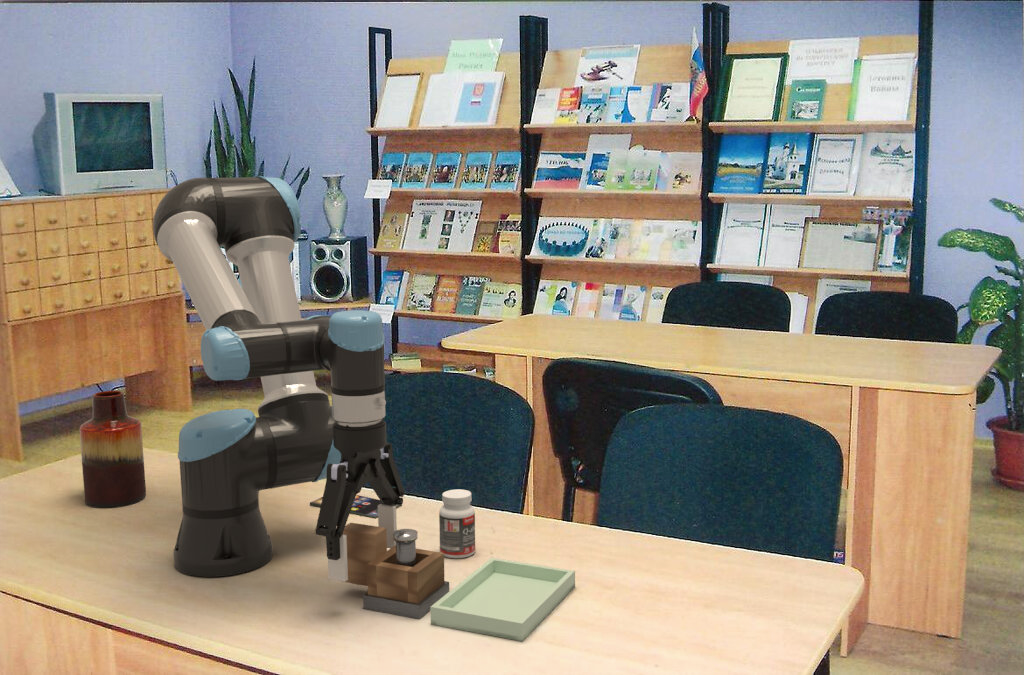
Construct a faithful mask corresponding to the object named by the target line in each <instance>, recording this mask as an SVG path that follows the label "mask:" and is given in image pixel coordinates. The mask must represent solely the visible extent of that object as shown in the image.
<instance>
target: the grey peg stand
mask: <svg viewBox="0 0 1024 675" xmlns="http://www.w3.org/2000/svg"><path fill="white" fill-rule="evenodd" d="M393 539H394V541H396V564H397V565H403V566H409V567H414V566H415V565H416V549H417V548H416V545H417V544H416V540H417V539H418V531H417V529H412V528H400V529H397V531H395V532H394V533H393ZM449 591H450V581H445V583H443V584H442V585H441V586H439V587H438V588H437V589H436V590H434V591H433V592H432V593H431V594H429V595H428V596H427V597H425V598H424V599H423V600H422V601H420V602H419V603H412V602H407V601H401V600H396V599H390V598H385V597H379V596H374V595H368V591H367V592H365V593H364V594H363V595H362V603H363V604H362V606H363V609H364V610H368V611H374V612H379V613H386V614H390V615H394V616H395V615H396V616H401V617H405V618H412V619H417V620H421V619H422V618H423V617H424V616H425V615H427V614H428V613H430V612H431V609H430V607H431V606H432V605H433V604H435V603H436V602H437V601H438V600H440V599H441V598H442V597H443V596H444V595H446V594H447V593H448V592H449Z"/></svg>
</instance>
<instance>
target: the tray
mask: <svg viewBox="0 0 1024 675" xmlns="http://www.w3.org/2000/svg"><path fill="white" fill-rule="evenodd" d="M575 588H576V570H572V569H566V568H559V567H553V566H547V565H540V564H535V563H534V564H533V563H528V562H522V561H521V562H520V561H515V560H508V559H500V558H497V557H496V558H495V557H490V558H489V559H488V560H487V561H486V562H484V563H483V564H482V565H481V566H479V567H478V568H477V569H476V570H474V571H473V572H472V573H470V575H469V574H468V576H467V577H466V578H465V579H462V581H461V582H459V583H458V584H457V585H455V586H454V587H453V588H451V590H449V592H448V593H447V594H446V595H444V596H443V597H442V598H441V599H440V600H438V601H437V602H436V603H435V604H433V605H432V606H431V607H430V609H431V610H430V625H433V626H438V627H445V628H449V629H455V630H460V631H465V632H469V633H470V632H471V633H477V634H481V635H486V636H492V637H497V638H502V639H508V640H514V641H517V642H518V641H519V642H523V641H524V640H526V638H528V637H529V636H530V634H532V633H533V631H534V630H535V629H536V628H538V626H539V625H540V624H541V623H542V622H543V621H544V620H545V619H546V618H547V617H548V616H549V615H550V613H551V612H553V610H555V609H556V607H557V606H558V605H559V604H560V603H561V602H562V601H563V600H564V599H565V598H566V597H567V596H568V595H569V594H570V593H571V592H572V591H573V590H574V589H575Z"/></svg>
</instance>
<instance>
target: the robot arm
mask: <svg viewBox="0 0 1024 675" xmlns="http://www.w3.org/2000/svg"><path fill="white" fill-rule="evenodd" d="M301 214H302V213H301V209H300V205H299V201H298V199H297V197H296V194H295V192H294V190H293V188H292V187H291V186H290V185H289V183H287V182H286V181H285V180H284V179H282V178H279V177H272V176H271V177H269V176H266V177H265V176H264V175H256V176H249V177H239V176H238V177H196V178H195V177H194V178H191V179H186V180H184V181H181V182H180V183H177V184H176V185H175V186H174V187H173V188H171V189H170V190H168V191H167V193H165V195H164V196H163V197H162V198H161V200H160V201H159V203H158V204H157V207H156V209H155V212H154V215H153V218H152V232H153V233H152V234H153V237H154V241H155V243H156V246H157V247H158V249H159V251H160V252H161V254H162V255H163V256H164V257H165V258H166V259H168V260H169V261H171V262H172V263H173V265H174V267H175V269H176V271H177V274H178V276H179V278H180V279H181V282H182V284H183V285H184V288H185V289H186V292H187V294H188V295H189V298H190V300H191V302H192V304H193V307H194V308H195V310H196V313H197V314H198V317H199V318H200V320H201V323H202V324H203V326H204V329H205V330H204V332H203V334H202V335H201V338H200V339H201V340H200V357H201V361H202V366H203V370H204V372H205V374H206V375H207V376H208V378H209V379H211V380H212V381H219V382H220V381H229V380H230V381H240V380H241V381H242V380H247V379H253V378H260V380H261V385H262V390H263V396H264V399H263V400H262V401H261V403H260V404H259V406H258V408H257V414H258V416H257V417H256V415H255V413H254V411H252V410H250V409H246V408H234V409H222V410H216V411H212V412H208V413H205V414H201V415H199V416H197V417H195V418H193V419H191V420H189V421H187V422H186V423H185V424H183V426H182V427H181V429H180V431H179V434H178V451H177V459H178V460H179V472H180V486H181V487H180V491H181V492H180V493H181V504H182V506H181V507H182V519H181V522H180V526H179V529H178V533H177V538H176V543H175V546H174V548H173V564H174V567H175V569H176V570H177V571H179V572H180V573H182V574H184V575H189V576H195V577H204V578H205V577H207V578H208V577H209V578H211V577H212V578H213V577H217V578H218V577H227V576H235V575H239V574H243V573H247V572H250V571H253V570H255V569H258V568H261V567H262V566H264V565H266V564H268V562H270V561H271V559H272V558H273V554H274V553H273V541H272V538H271V536H270V534H269V532H268V530H267V527H266V524H265V522H264V519H263V516H262V513H261V510H260V504H259V503H260V502H259V493H260V491H263V490H264V491H265V490H269V489H270V490H272V489H276V488H281V487H288V486H293V485H299V484H304V483H311V482H312V483H317V482H318V481H321V480H325V479H326V481H325V485H324V489H323V495H322V497H323V498H322V503H321V507H320V508H319V513H318V518H317V522H316V527H315V535H316V536H321V537H325V543H326V558H327V571H328V572H327V573H328V574H327V575H328V580H333V581H337V582H338V581H339V582H342V581H343V582H342V583H347V582H346V581H347V580H348V567H347V539H346V535H342V534H343V531H344V528H345V526H346V525H347V522H348V518H349V517H350V515H351V514H350V511H351V508H352V505H353V502H354V499H355V497H356V495H359V493H361V492H362V489H363V487H365V486H366V485H367V484H369V485H370V486H371V488H372V490H373V491H374V493H375V494H376V496H377V497H378V500H380V501H381V502H382V503H384V504H379V505H378V518H377V520H378V521H377V523H378V524H377V525H378V526H377V527H384V528H386V534H387V549H391V548H392V547H394V546H395V545H396V541H394V539H393V533H394V532H395V531H397V530H398V528H397V509H396V505H402V506H403V504H404V498H403V497H404V496H405V489H404V485H403V483H402V478H401V476H400V473H399V470H398V468H397V463H396V462H395V461H396V460H395V459H394V453H393V445H392V443H390V442H387V441H388V440H387V439H388V438H387V422H386V421H385V420H384V418H385V417H386V404H387V401H386V395H385V389H386V386H385V385H386V383H385V378H386V377H385V333H384V327H383V326H384V324H383V318H382V316H381V314H380V313H378V312H376V311H373V310H365V309H362V310H361V309H360V310H359V309H357V310H356V309H355V310H354V309H353V310H342V311H336V312H334V313H333V314H331V315H326V314H325V315H321V314H318V315H311V316H309V317H306V318H305V319H304V320H303V319H302V315H301V309H300V305H299V302H298V300H299V299H298V297H297V296H298V295H297V293H296V287H295V284H294V283H295V282H294V278H293V274H292V270H291V265H290V259H289V256H290V255H291V253H292V252H293V250H294V249H295V247H296V245H295V242H297V240H298V239H299V237H300V235H301V232H302V222H301V217H302V215H301ZM221 247H223V248H224V252H225V254H224V252H223V251H222V248H221ZM230 263H232V264H234V265H235V266H236V267H237V269H238V274H239V280H240V282H239V280H238V278H237V276H236V275H235V273H234V271H233V269H232V267H231V265H230ZM321 370H323V371H324V370H327V371H329V372H330V382H331V384H330V385H331V386H330V388H331V403H330V399H329V394H328V393H327V392H325V391H324V390H322V389H321V388H319V387H318V386H317V382H316V378H315V373H314V371H321Z"/></svg>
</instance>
